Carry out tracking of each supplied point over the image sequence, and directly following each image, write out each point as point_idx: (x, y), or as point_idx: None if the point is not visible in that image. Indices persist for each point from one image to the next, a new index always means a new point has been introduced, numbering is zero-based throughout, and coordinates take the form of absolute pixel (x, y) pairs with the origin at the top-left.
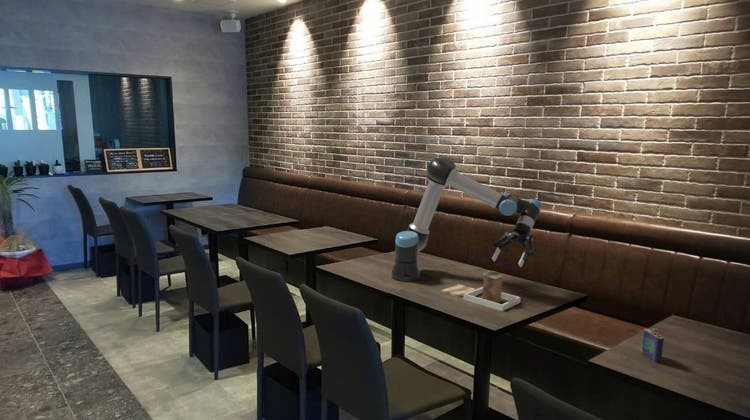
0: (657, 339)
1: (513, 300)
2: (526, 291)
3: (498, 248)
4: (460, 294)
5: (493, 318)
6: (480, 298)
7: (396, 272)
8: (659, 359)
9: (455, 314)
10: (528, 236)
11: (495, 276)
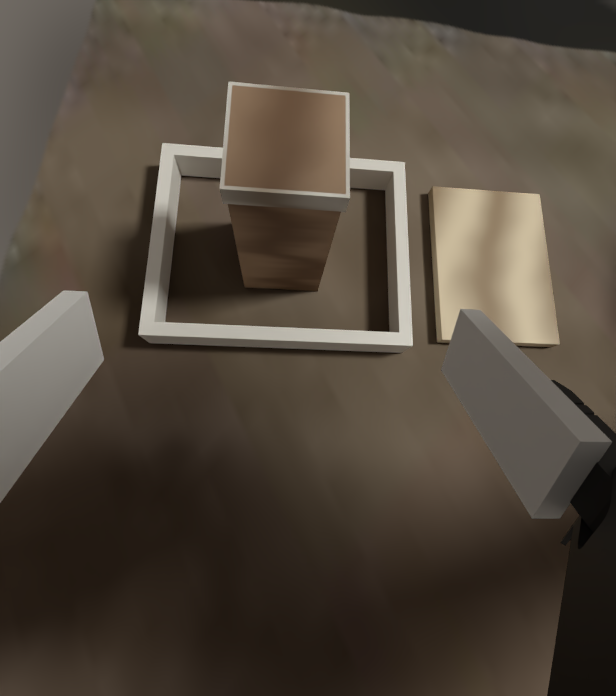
0: None
1: (149, 251)
2: (206, 593)
3: (562, 434)
4: (435, 201)
5: (162, 66)
6: None
7: None
8: None
9: (307, 15)
10: None
11: (233, 82)
